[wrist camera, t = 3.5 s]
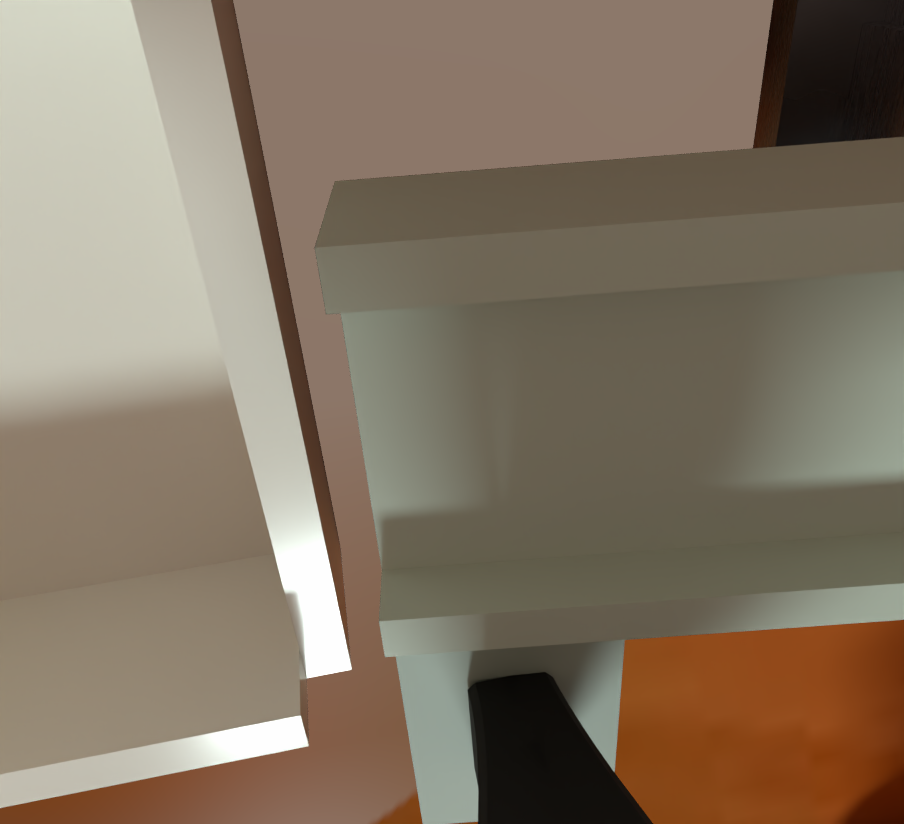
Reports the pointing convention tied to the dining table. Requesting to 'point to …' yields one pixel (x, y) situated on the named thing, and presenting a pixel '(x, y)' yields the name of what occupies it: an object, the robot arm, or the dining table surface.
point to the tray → (149, 410)
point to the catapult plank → (620, 414)
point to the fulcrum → (832, 73)
